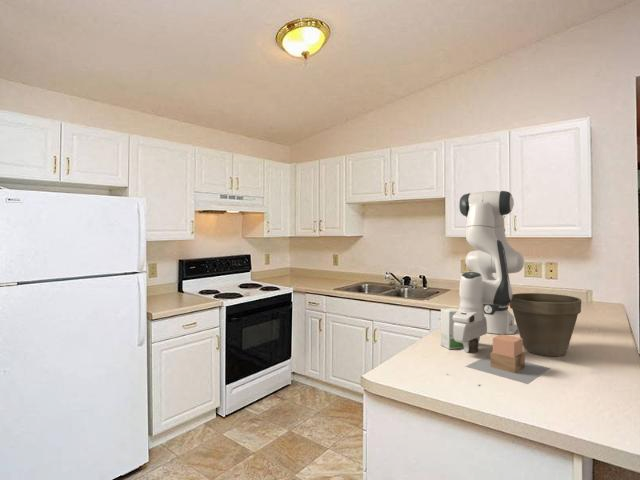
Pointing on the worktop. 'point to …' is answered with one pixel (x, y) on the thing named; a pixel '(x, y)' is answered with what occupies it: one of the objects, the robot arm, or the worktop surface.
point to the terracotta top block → (508, 345)
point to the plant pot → (545, 321)
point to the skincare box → (448, 329)
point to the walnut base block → (508, 362)
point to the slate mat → (522, 376)
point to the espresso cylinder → (473, 345)
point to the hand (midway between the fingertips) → (471, 349)
